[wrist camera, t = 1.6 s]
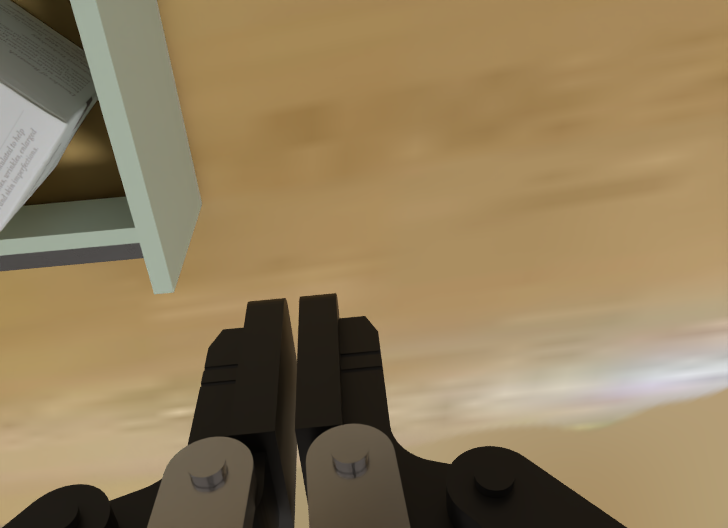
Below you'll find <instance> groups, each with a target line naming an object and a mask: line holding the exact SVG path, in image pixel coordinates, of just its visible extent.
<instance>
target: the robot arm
mask: <svg viewBox="0 0 728 528" xmlns="http://www.w3.org/2000/svg"><path fill="white" fill-rule="evenodd" d="M297 445H298V450H299V456H300V462H301V467H302V473H303V479H304V485H305V490H306V496H307V501H308V510H309V528H627V527H625V526H624V525H622V524H621V523H619V522H618V521H617V520H615V519H613V518H612V517H611V516H609V515H608V514H606V513H605V512H604V511H602V510H601V509H599V508H598V507H596V506H595V505H593V504H592V503H590V502H589V501H588V500H586V499H585V498H583V497H582V496H580V495H579V494H577V493H576V492H575V491H573V490H572V489H570V488H569V487H567V486H566V485H564V484H563V483H561V482H560V481H559V480H557V479H556V478H554V477H553V476H551V475H550V474H548V473H547V472H546V471H544V470H543V469H541V468H540V467H538V466H537V465H535V464H534V463H532V462H531V461H530V460H528V459H527V458H525V457H524V456H522V455H520V454H519V453H517V452H514V451H512V450H510V449H506V448H502V447H495V446H485V447H478V448H474V449H471V450H468V451H466V452H464V453H463V454H461V455H460V456H458V457H457V458H456V459H455V460H454V461H453V462H452V464H447V463H441V462H436V461H430V460H426V459H422V458H420V457H417V456H415V455H413V454H411V453H410V452H408V451H407V450H405V449H404V448H403V447H402V446H401V445H400V444H399V443H398V442H397V441H396V439H395V438H394V436H393V434H392V432H391V428H390V421H389V414H388V406H387V398H386V390H385V382H384V374H383V367H382V359H381V351H380V343H379V335H378V331H377V330H376V329H375V327H374V326H373V325H372V324H371V323H370V321H369V320H368V319H367V318H366V316H361V317H350V318H339V309H338V300H337V294H336V293H334V294H323V295H313V296H302V297H300V300H299V326H298V354H297V360H296V353H295V347H294V341H293V335H292V328H291V322H290V316H289V310H288V304H287V300H286V298H282V299H271V300H261V301H250V302H248V304H247V309H246V316H245V323H244V328H235V329H224V330H222V332H221V333H220V334H219V335H218V337H217V338H216V339H215V340H214V342H213V343H212V344H211V345H210V347H209V348H208V353H207V358H206V362H205V371H204V372H203V376H202V381H201V387H200V390H199V395H198V400H197V404H196V409H195V414H194V418H193V423H192V428H191V432H190V437H189V442H188V446H186V447H185V448H183V449H182V450H180V451H179V452H178V453H177V454H176V455H175V456H174V457H173V458H172V459H171V460H170V462H169V464H168V465H167V467H166V469H165V472H164V474H163V478H162V479H161V480H159V481H158V482H156V483H154V484H152V485H151V486H148V487H146V488H144V489H141V490H138V491H136V492H133V493H130V494H127V495H125V496H122V497H119V498H116V499H114V500H111V501H109V500H108V497H107V496H106V495H105V493H104V492H103V491H101V490H100V489H98V488H96V487H94V486H90V485H83V484H78V485H70V486H65V487H62V488H58V489H56V490H53V491H51V492H49V493H47V494H45V495H44V496H42V497H40V498H39V499H37V500H36V501H35V502H33V503H32V504H31V505H30V506H28V507H27V508H26V509H25V510H23V511H22V512H21V513H20V514H18V515H17V516H16V517H15V518H13V519H12V520H11V521H10V522H9V523H7V524H6V525H5V526H4V527H2V528H294V520H295V488H296V458H297Z"/></svg>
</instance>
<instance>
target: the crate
mask: <svg viewBox="0 0 728 528" xmlns="http://www.w3.org/2000/svg"><path fill="white" fill-rule="evenodd" d="M70 2H71V6H72V9H73V13H74V16H75V20H76V23H77V27H78V30H79V34H80V37H81V41H82V44H83V47H84V51H85V54H86V58H87V61H88V65H89V68H90V72H91V75H92V79H93V82H94V86H95V89H96V93H97V96H98V100H99V103H100V107H101V110H102V114H103V117H104V121H105V124H106V128H107V131H108V135H109V138H110V142H111V145H112V148H113V152H114V155H115V159H116V162H117V166H118V169H119V173H120V176H121V180H122V183H123V187H124V190H125V194H126V197H115V198H104V199H93V200H82V201H71V202H61V203H50V204H39V205H28V206H22V207H21V208H20V209H19V210H18V212H17V213H16V214H15V215H14V216H13V217H12V219H11V220H10V221H9V222H8V223H7V225H6V226H5V227H4V228H3V230H2V231H1V232H0V256H1V255H12V254H23V253H34V252H45V251H55V250H66V249H77V248H88V247H99V246H110V245H121V244H131V243H140V246H141V249H142V253H143V256H144V260H145V263H146V267H147V270H148V274H149V277H150V281H151V284H152V288H153V291H154V294H161V293H172V292H174V291H175V287H176V284H177V281H178V278H179V275H180V272H181V269H182V265H183V262H184V259H185V256H186V253H187V250H188V247H189V244H190V240H191V237H192V234H193V231H194V228H195V225H196V222H197V218H198V215H199V212H200V209H201V206H202V201H201V197H200V192H199V188H198V183H197V179H196V174H195V170H194V165H193V161H192V156H191V152H190V147H189V143H188V138H187V134H186V129H185V125H184V120H183V116H182V112H181V107H180V103H179V98H178V94H177V89H176V85H175V80H174V76H173V71H172V67H171V62H170V58H169V53H168V49H167V44H166V40H165V35H164V31H163V26H162V22H161V17H160V13H159V8H158V4H157V0H70Z"/></svg>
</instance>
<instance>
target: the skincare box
mask: <svg viewBox="0 0 728 528" xmlns="http://www.w3.org/2000/svg"><path fill="white" fill-rule="evenodd" d="M97 100H98V96H97V93H96V89H95V86H94V82H93V79H92V75H91V72H90V68H89V65H88V61H87V58H86V54H85V51H84V50H82V49H81V48H79V47H78V46H77V45H75V44H74V43H72V42H71V41H69V40H68V39H66V38H65V37H63V36H62V35H60V34H59V33H57V32H56V31H54V30H53V29H51V28H50V27H49V26H47V25H46V24H44V23H43V22H41V21H40V20H38V19H37V18H35V17H34V16H32V15H31V14H29V13H28V12H27V11H25V10H24V9H22V8H21V7H20V6H18V5H17V4H15V3H14V2H12V1H11V0H0V232H1V231H2V230H3V228H4V227H5V226H6V225H7V223H8V222H9V221H10V220H11V219H12V217H13V216H14V215H15V214H16V213H17V212H18V210H19V209H20V208H21V207H22V206H23V205H24V203H25V202H26V201H27V200H28V199H29V198H30V197H31V195H32V194H33V193H34V192H35V191H36V190H37V188H38V187H39V186H40V185H41V184H42V183H43V181H44V180H45V179H46V178H47V177H48V175H49V174H50V173H51V172H52V171H53V170H54V168H55V167H56V166H57V164H58V162H59V161H60V159H61V157H62V155H63V153H64V151H65V149H66V148H67V146H68V144H69V143H70V141H71V139H72V138H73V136H74V134H75V133H76V131H77V130H78V128H79V126H80V125H81V123H82V122H83V120H84V119H85V117H86V116H87V114H88V113H89V111H90V110H91V108H92V107H93V106H94V104H95V103H96V101H97Z"/></svg>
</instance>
